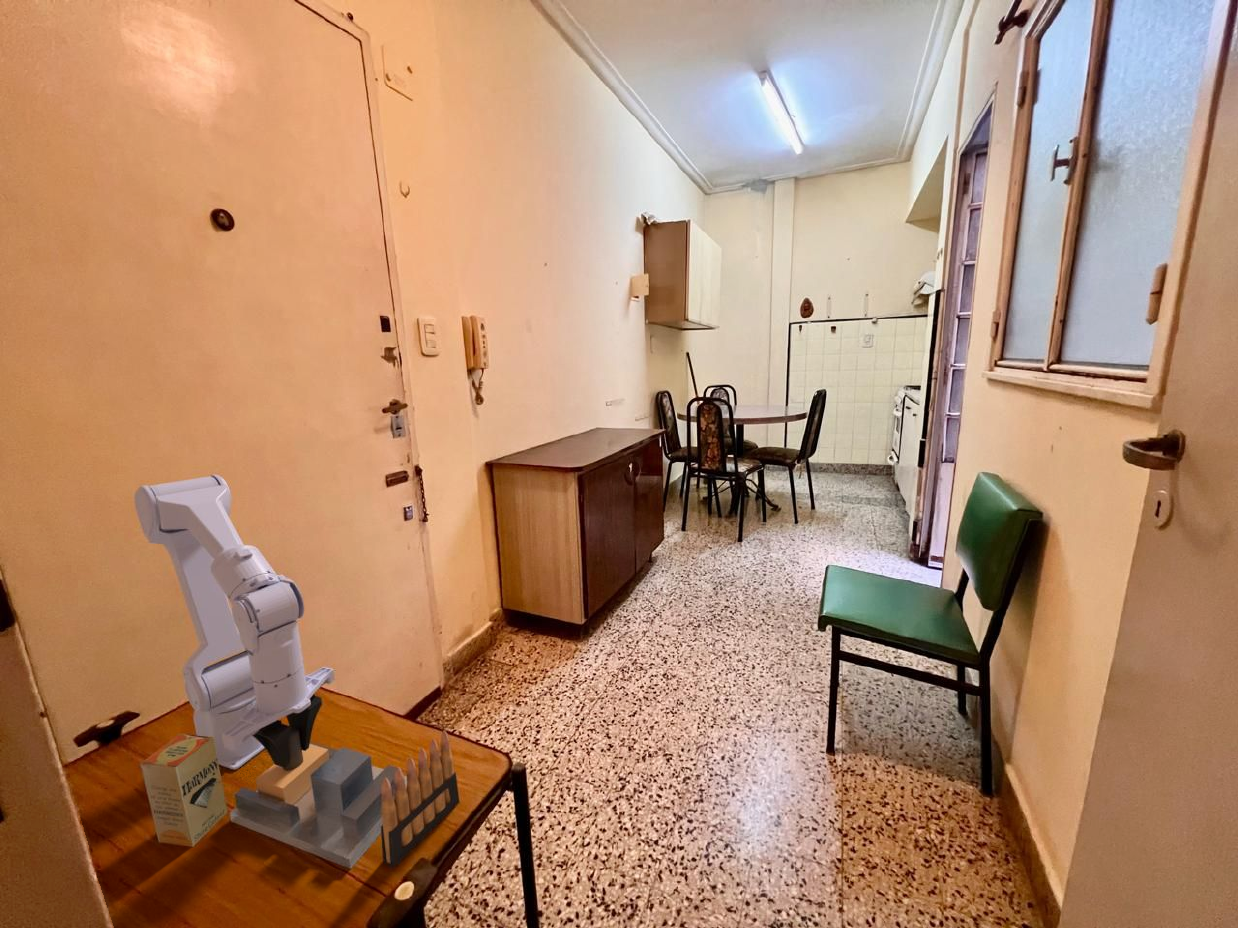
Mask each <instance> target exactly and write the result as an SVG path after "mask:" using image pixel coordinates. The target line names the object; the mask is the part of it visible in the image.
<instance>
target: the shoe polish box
mask: <svg viewBox="0 0 1238 928" xmlns="http://www.w3.org/2000/svg"><path fill="white" fill-rule="evenodd" d="M139 765H140V769H141V772H142V777H143V780H144V784H145V786H144V787H145V789H146V794H147V797H148V802H149V807H150V812H151V815H152V816H151V817H152V820H153V824H154V828H155V831H156V833H155V834H156V836H157V837H156V838H157V840H158V843H159V844H162V843H163V844H166V845H167V844H168V845H169V844H170V845H174V846H183V847H184V846H185V847H191V848H192V847H194V846H195V845H196V844H198V842H200V841H201V840H202V838H203V837H204V836H205V835H206V834H207V833H209V831H211V829H212V828H213V827H215V825H216V824H217V823H218V822H219V821H220V820H222V818H223V817H224V816H226V815H227V814H228V812H229V811H228V805H227V802H226V795H225V791H224V786H223V781H222V780H223V779H222V776H221V771H220V765H219V764H218V760H217V754H216V749H215V744H214V739H213V737H207V736H197V734H195V735H194V734H186V733H179V734H178V735H176V736H175V737H174V738H172V739H171V740H170V741H168V742H167V743H165V744H164V745H163V746H162V747H160V748H159V749H158V750H156V751H155V752H154V753H152V754H150V755H149V756H148V757H147V758H146V759H144V760H143V761H142V762H140V763H139Z"/></svg>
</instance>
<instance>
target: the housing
mask: <svg viewBox="0 0 1238 928" xmlns="http://www.w3.org/2000/svg"><path fill="white" fill-rule="evenodd" d="M337 750H338V751H337V752H336V753H335V754H334V755H333V756H331V757H330V758H329V759H328V760H327V761H326V762H325V763H323V764H322V765H321V766H320V767H319V768H318V769H317V770H316V771H314V772H313V773H312V774H311V775H310V776H311V782H312V789H313V796H314V802H315V809H316V813H318V814H321V815H323V816H326V817H329V818H332V819H334V820H337V821H340V822H342V820H341V813H342V812H343V811H344V810H345V809H346V808H347V807H348V806H349V805H350V804H351V803H352V802H353V801H354V800H355V799H356V798H357V797H358V796H359V795H360V794H361V793H362V792H363V791H364V790H365V789H366V788H367V786H368V785H369V784H370V783H371V782H372V781H373V773H372V766H373V765H372V757H371V755H370V754H366V753H363V752H360V751H357V750H353V749H350V748H346V747H343V746H341V748H339V749H337Z"/></svg>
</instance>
